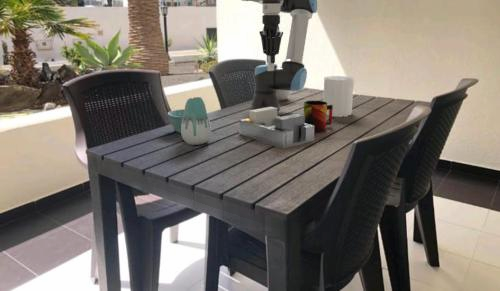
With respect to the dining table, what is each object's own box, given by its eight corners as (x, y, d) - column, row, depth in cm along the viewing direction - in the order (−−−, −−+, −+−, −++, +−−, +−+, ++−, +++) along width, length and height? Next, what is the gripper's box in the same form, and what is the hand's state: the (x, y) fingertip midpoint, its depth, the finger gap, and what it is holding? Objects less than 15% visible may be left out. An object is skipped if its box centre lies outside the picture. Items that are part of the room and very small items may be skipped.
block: (249, 131, 170) (249, 110, 167) (270, 126, 177) (270, 106, 174) (255, 133, 167) (255, 112, 164) (277, 128, 174) (277, 108, 172)
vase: (178, 140, 162) (175, 95, 157) (206, 137, 166) (204, 93, 161) (185, 148, 152) (183, 101, 147) (215, 144, 156) (214, 98, 151)
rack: (239, 133, 171) (238, 110, 168) (269, 127, 181) (269, 104, 178) (283, 148, 151) (284, 122, 148) (314, 140, 161) (315, 115, 158)
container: (339, 118, 197) (341, 81, 192) (316, 113, 208) (318, 78, 202) (357, 113, 207) (359, 78, 201) (334, 109, 217) (336, 75, 211)
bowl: (191, 124, 186) (190, 107, 184) (213, 131, 175) (212, 112, 173) (161, 131, 176) (160, 112, 173) (183, 138, 165) (182, 118, 162)
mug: (331, 126, 182) (333, 100, 178) (321, 134, 170) (322, 106, 167) (311, 124, 186) (312, 98, 183) (299, 131, 175) (300, 103, 171)
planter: (292, 102, 235) (292, 75, 230) (262, 102, 235) (262, 75, 231) (289, 96, 251) (290, 71, 247) (262, 96, 251) (262, 71, 247)
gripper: (254, 14, 175) (254, 69, 183) (275, 14, 166) (274, 72, 173) (267, 14, 180) (267, 68, 187) (288, 14, 170) (287, 71, 178)
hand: (270, 70), depth 180 cm, fingers closed
